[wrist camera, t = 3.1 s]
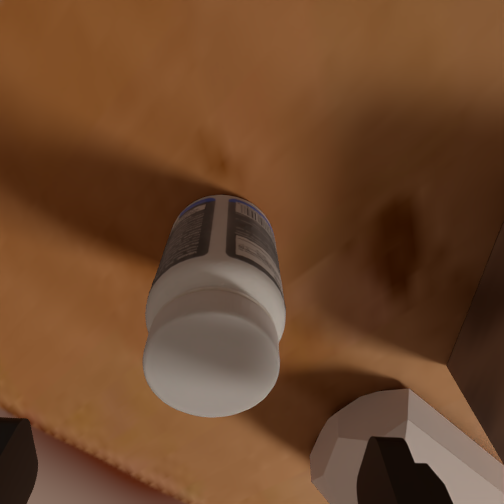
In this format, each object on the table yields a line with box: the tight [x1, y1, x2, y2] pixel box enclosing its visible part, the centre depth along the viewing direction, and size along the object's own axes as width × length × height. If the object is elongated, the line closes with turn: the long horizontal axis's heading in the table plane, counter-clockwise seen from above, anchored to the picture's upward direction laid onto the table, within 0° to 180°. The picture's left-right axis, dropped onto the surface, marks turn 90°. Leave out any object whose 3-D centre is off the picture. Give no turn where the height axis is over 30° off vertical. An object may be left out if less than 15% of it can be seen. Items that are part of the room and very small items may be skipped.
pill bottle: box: [143, 195, 286, 417], centre depth 16 cm, size 5×5×8 cm
